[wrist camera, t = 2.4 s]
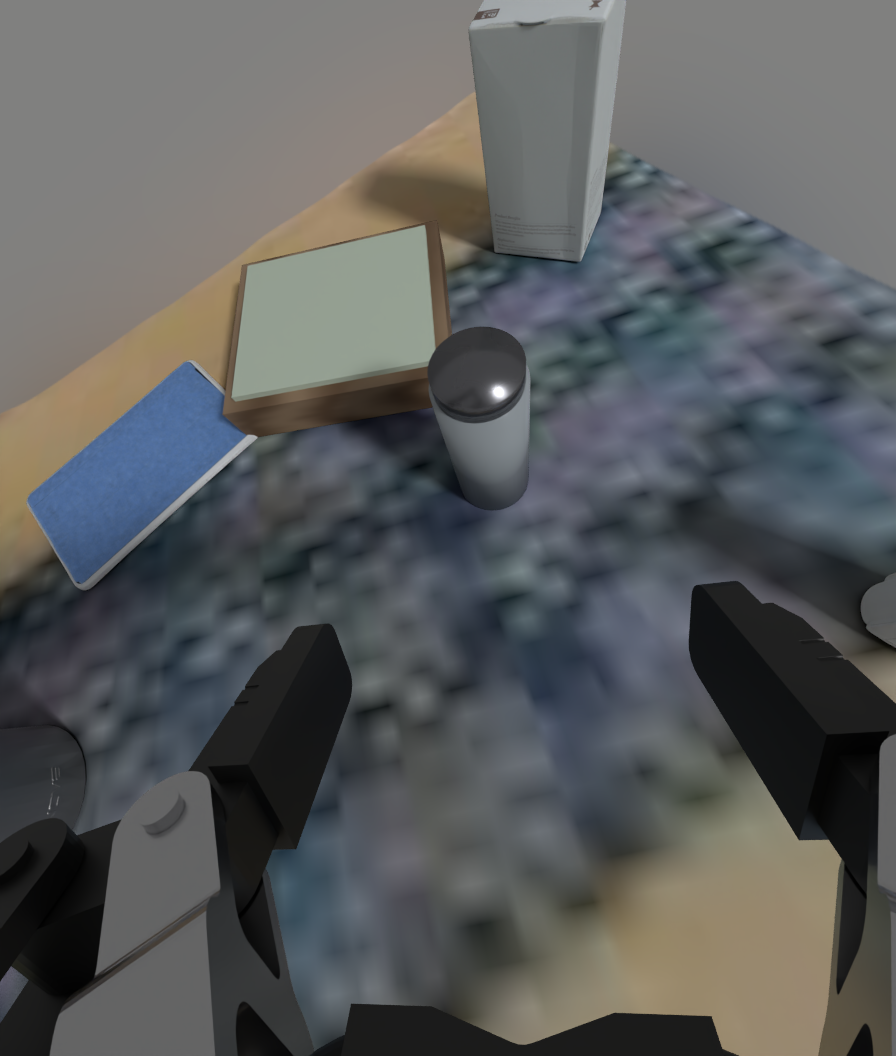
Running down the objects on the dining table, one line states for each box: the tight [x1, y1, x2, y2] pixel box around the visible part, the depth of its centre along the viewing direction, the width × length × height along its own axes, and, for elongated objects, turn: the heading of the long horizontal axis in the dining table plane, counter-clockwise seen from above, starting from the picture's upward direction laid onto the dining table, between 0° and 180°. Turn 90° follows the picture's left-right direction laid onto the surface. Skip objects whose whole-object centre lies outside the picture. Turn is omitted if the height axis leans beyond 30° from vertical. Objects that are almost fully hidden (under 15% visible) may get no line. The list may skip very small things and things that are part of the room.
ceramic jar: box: [427, 327, 530, 510], centre depth 25 cm, size 5×5×12 cm
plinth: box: [222, 220, 452, 437], centre depth 36 cm, size 18×16×4 cm
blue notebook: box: [26, 360, 258, 590], centre depth 37 cm, size 19×13×1 cm, turn 136°
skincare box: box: [469, 0, 626, 262], centre depth 31 cm, size 8×6×15 cm
